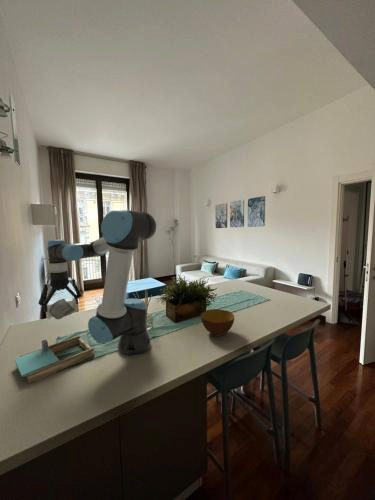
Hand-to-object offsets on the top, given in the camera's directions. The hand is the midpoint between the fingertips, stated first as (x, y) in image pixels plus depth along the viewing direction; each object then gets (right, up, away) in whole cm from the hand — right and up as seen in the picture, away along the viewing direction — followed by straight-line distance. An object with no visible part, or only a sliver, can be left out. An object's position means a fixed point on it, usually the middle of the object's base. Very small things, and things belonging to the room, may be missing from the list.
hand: (62, 314), depth 109 cm
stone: (0, -2, -1) cm, 2 cm away
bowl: (+79, -13, +8) cm, 80 cm away
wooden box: (+6, -15, -14) cm, 22 cm away
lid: (+1, -13, -20) cm, 24 cm away
